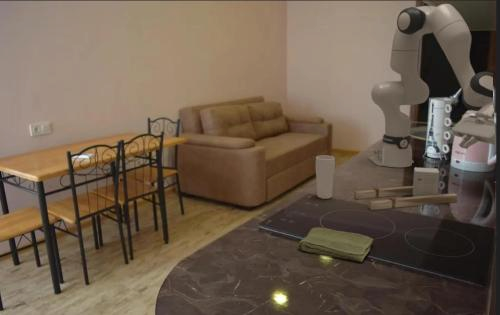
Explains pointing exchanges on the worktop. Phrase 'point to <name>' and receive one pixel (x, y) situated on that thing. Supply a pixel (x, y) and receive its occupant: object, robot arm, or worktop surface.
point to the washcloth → (336, 244)
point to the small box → (425, 181)
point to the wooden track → (401, 201)
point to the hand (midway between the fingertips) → (462, 147)
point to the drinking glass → (325, 175)
